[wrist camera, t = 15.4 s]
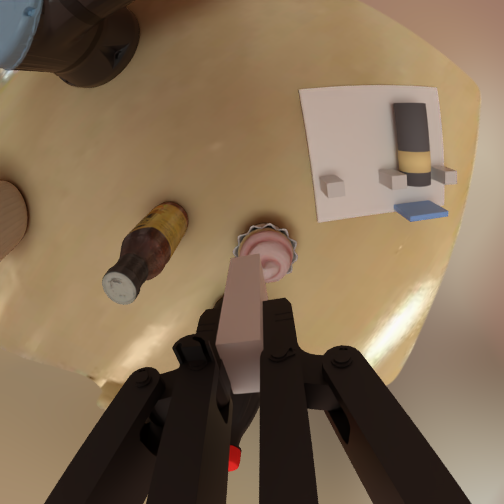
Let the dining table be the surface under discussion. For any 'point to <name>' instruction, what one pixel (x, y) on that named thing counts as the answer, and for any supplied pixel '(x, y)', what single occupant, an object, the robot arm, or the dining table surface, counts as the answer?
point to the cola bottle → (240, 417)
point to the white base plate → (369, 152)
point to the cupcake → (269, 249)
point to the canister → (11, 217)
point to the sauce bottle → (145, 252)
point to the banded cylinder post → (413, 143)
